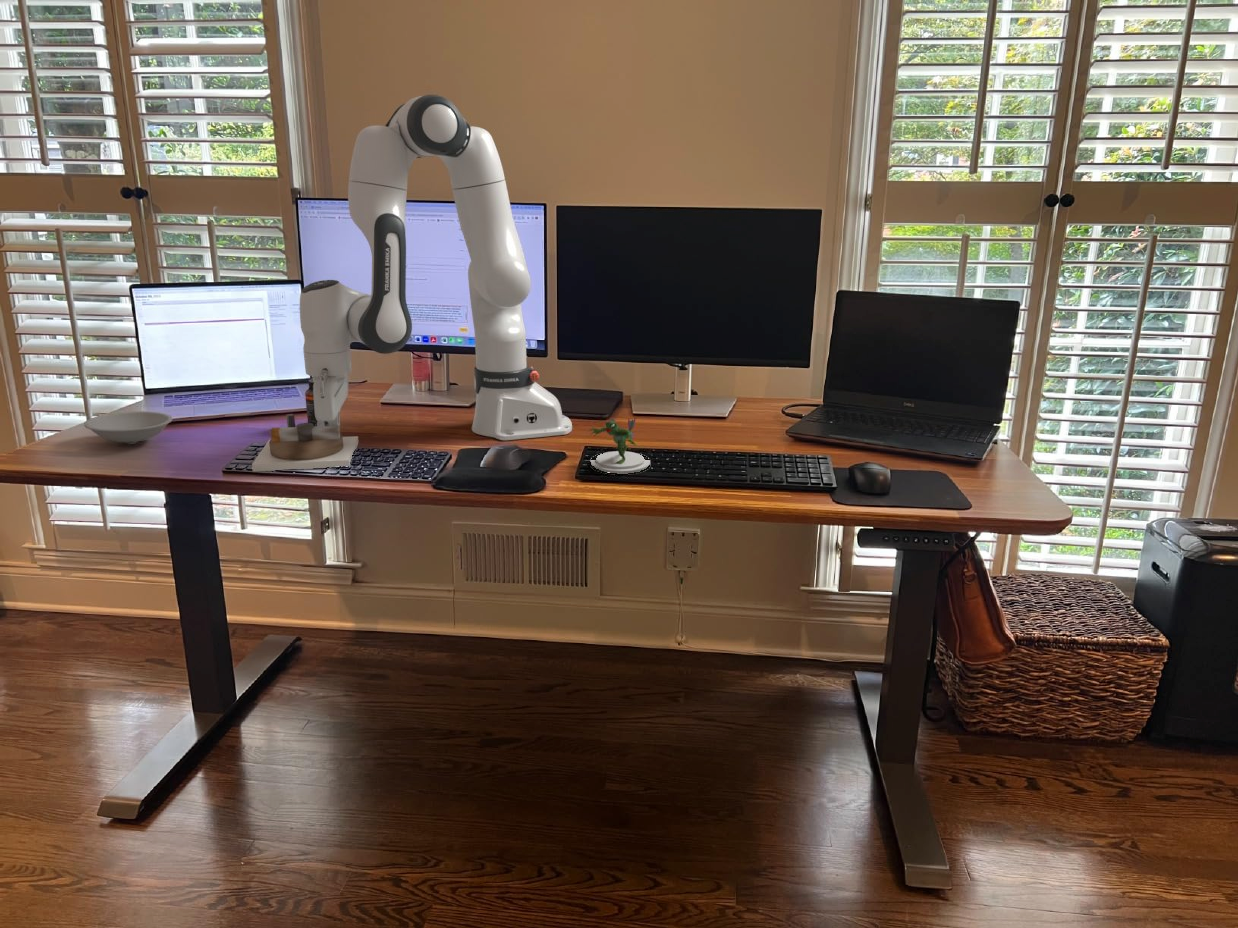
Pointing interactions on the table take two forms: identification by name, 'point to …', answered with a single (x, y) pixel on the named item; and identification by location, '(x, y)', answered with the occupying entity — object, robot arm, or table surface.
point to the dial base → (337, 459)
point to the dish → (128, 425)
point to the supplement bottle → (312, 407)
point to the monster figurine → (619, 451)
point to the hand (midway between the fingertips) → (334, 430)
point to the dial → (305, 441)
